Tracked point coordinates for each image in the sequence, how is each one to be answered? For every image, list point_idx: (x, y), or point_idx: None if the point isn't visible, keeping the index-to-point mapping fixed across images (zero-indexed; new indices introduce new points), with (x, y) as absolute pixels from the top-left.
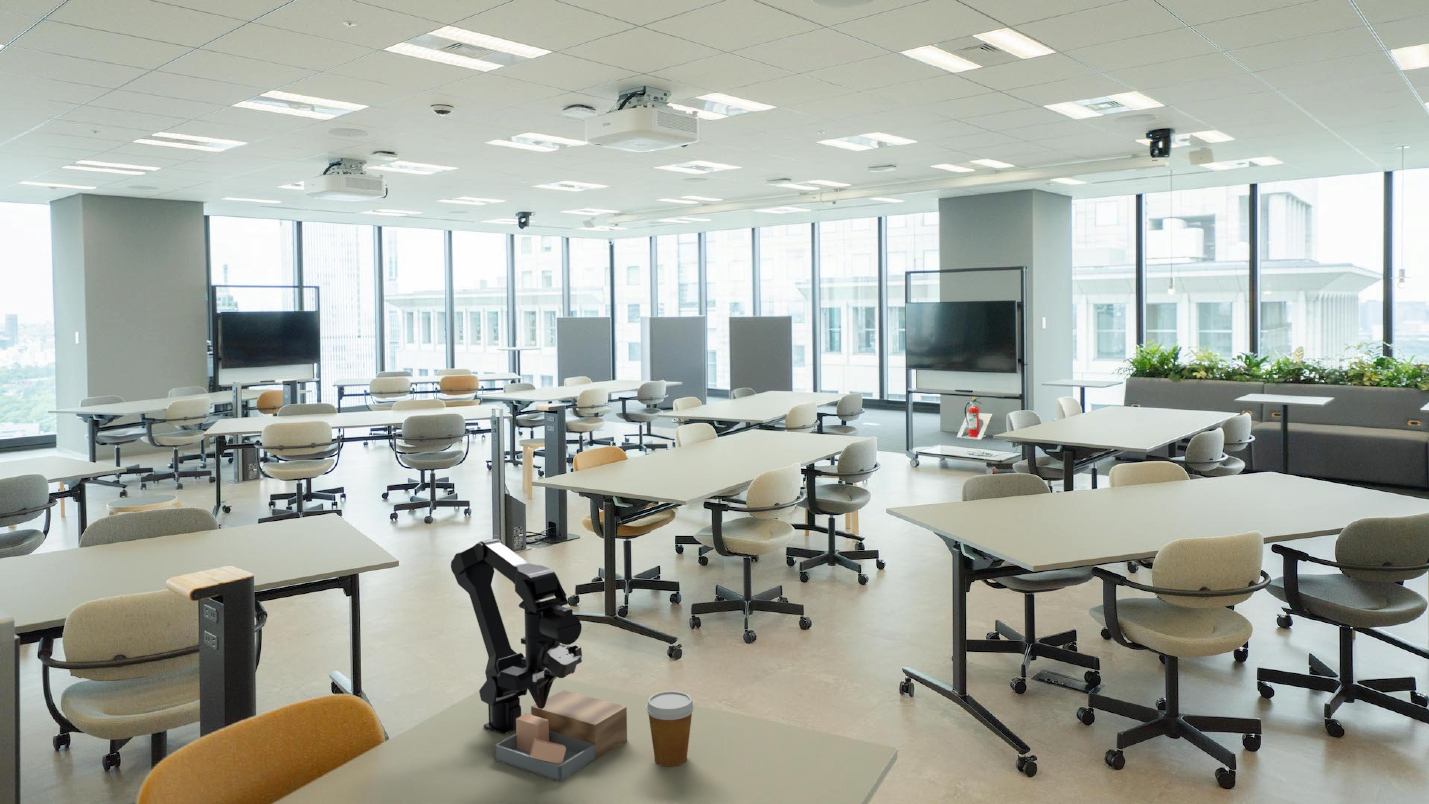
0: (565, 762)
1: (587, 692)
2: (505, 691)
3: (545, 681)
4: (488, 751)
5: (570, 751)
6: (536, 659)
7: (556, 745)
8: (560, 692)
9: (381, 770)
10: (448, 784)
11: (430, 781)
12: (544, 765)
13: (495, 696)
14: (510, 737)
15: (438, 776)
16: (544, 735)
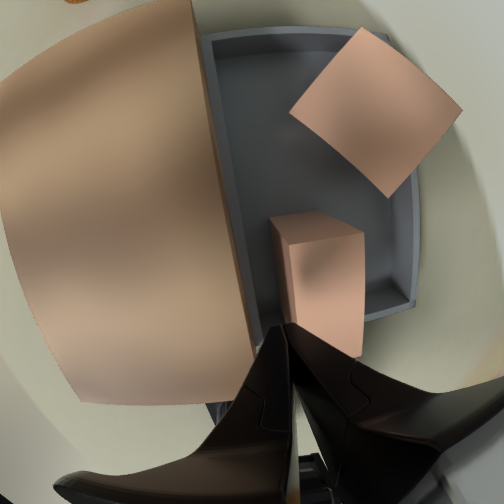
0: None
1: (35, 385)
2: (311, 480)
3: (489, 401)
4: (367, 337)
5: (231, 145)
6: None
7: (383, 61)
8: (96, 399)
9: (468, 372)
10: (483, 263)
11: (482, 296)
12: None
13: (325, 472)
14: None
15: (470, 303)
16: (304, 224)
